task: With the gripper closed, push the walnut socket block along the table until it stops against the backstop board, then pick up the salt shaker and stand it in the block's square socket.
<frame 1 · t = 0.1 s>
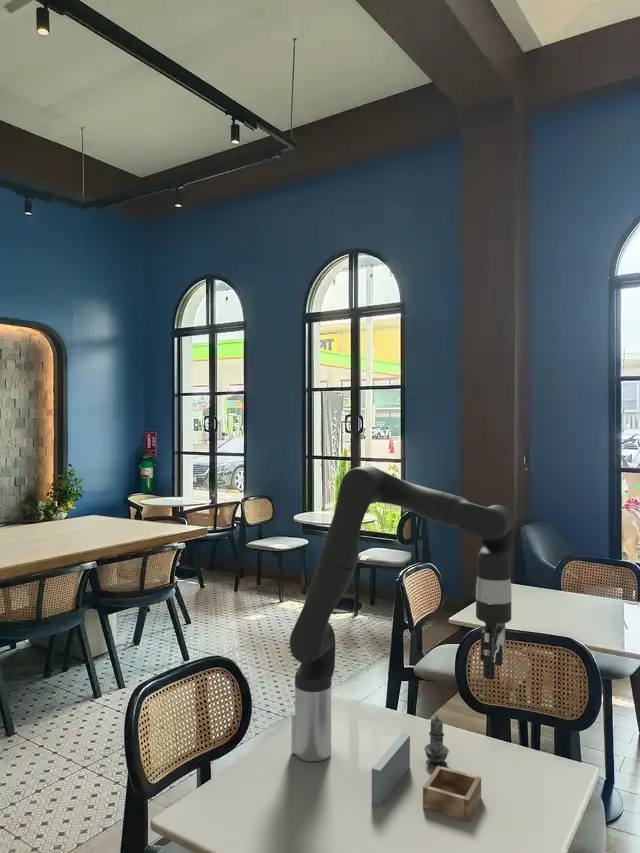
hand: (493, 671, 140), 29 cm above the table, tool pointing down, fingers open, 8 cm apart
socket block: (452, 792, 141), point 2 cm above the table, slide at 8.0 cm
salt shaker: (436, 764, 157), on the table
backstop board: (391, 785, 148), on the table
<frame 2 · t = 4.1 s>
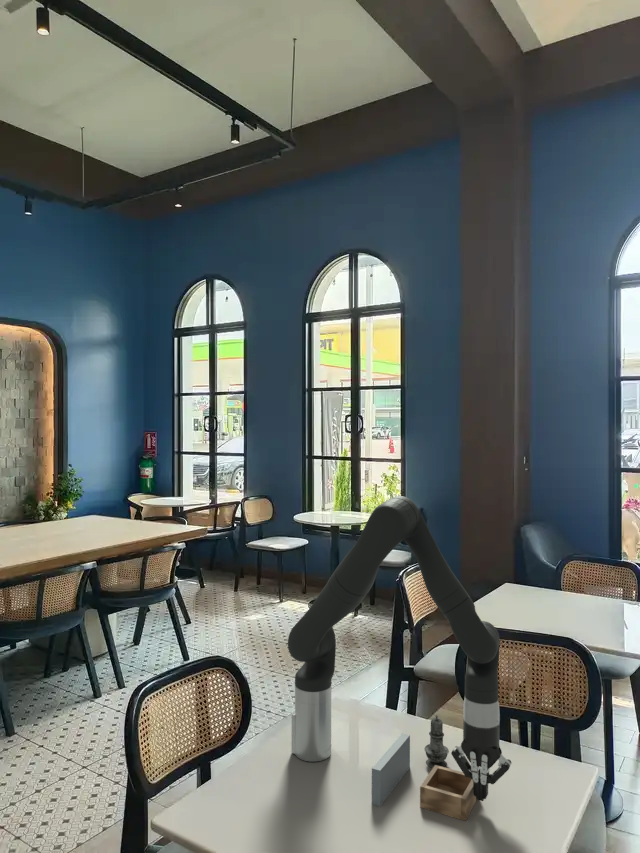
hand: (480, 798, 138), 3 cm above the table, tool pointing down, fingers closed
socket block: (449, 791, 141), point 2 cm above the table, slide at 7.4 cm, touching gripper
everything else where it was.
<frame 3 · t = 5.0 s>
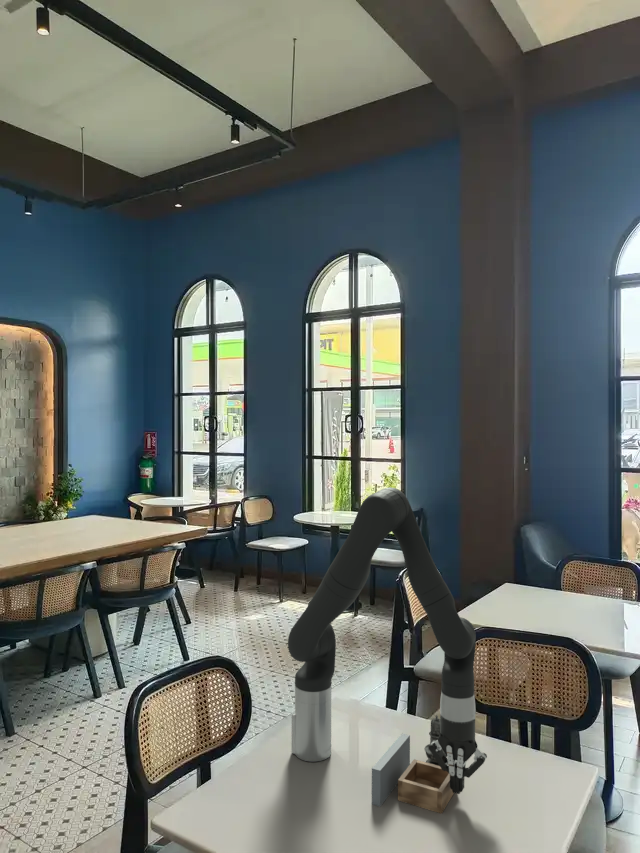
hand: (457, 791, 140), 3 cm above the table, tool pointing down, fingers closed
socket block: (427, 785, 144), point 2 cm above the table, slide at 2.2 cm, touching gripper
everything else where it was.
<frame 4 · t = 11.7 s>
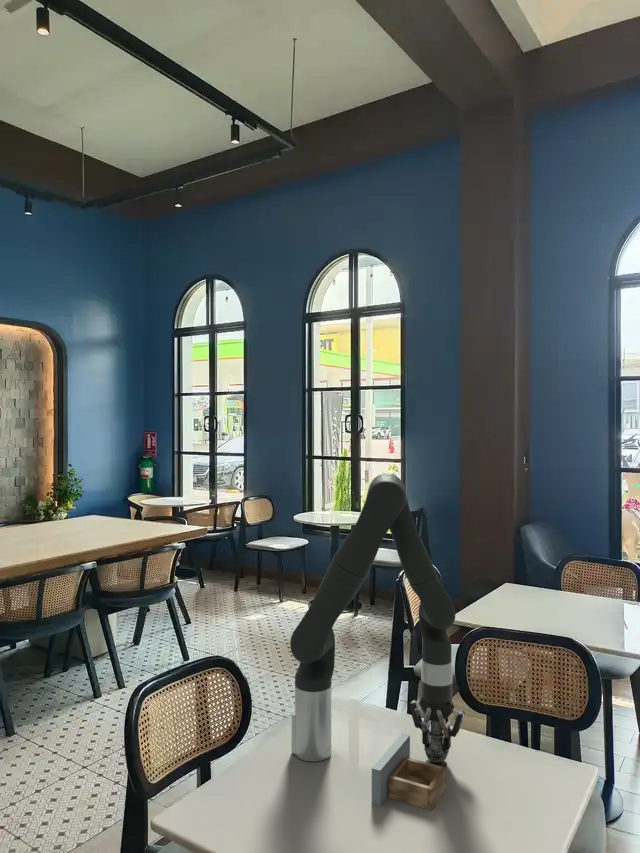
hand: (436, 748, 157), 4 cm above the table, tool pointing down, fingers closed on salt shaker, 4 cm apart
socket block: (417, 782, 145), point 2 cm above the table, slide at 0.0 cm
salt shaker: (436, 764, 157), on the table, touching gripper
when the fingers open (6 cm above the table, at t = 16.9 s): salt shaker drops 1 cm, resting on socket block.
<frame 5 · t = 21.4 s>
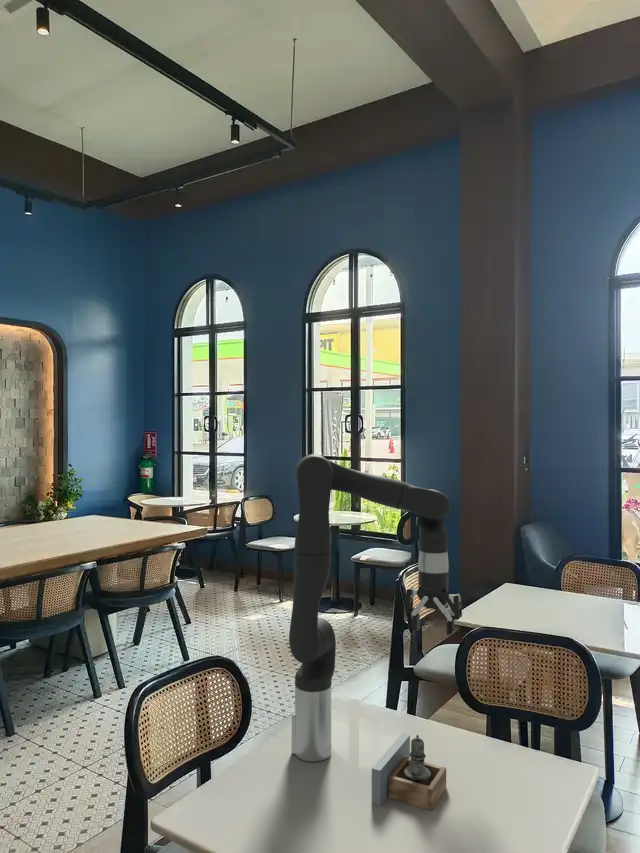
hand: (433, 632, 164), 30 cm above the table, tool pointing down, fingers open, 8 cm apart
socket block: (417, 782, 145), point 2 cm above the table, slide at 0.0 cm, touching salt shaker
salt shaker: (417, 788, 145), point 1 cm above the table, touching socket block
at the end: socket block slide at 0.0 cm; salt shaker 0.1 cm off-centre on the socket block, point 0.8 cm above the socket block's base; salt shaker tilted 0° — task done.
